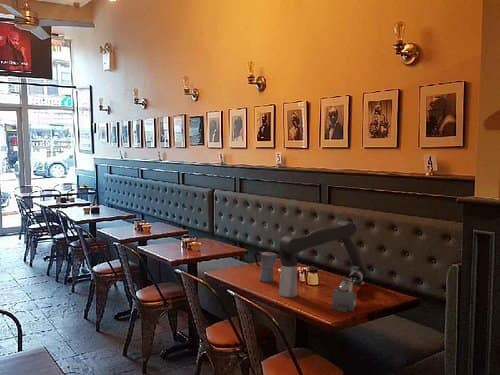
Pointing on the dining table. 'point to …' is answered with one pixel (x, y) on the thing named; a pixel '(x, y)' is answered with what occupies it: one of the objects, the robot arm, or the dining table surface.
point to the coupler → (344, 299)
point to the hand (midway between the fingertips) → (350, 285)
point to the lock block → (347, 285)
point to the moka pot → (266, 265)
